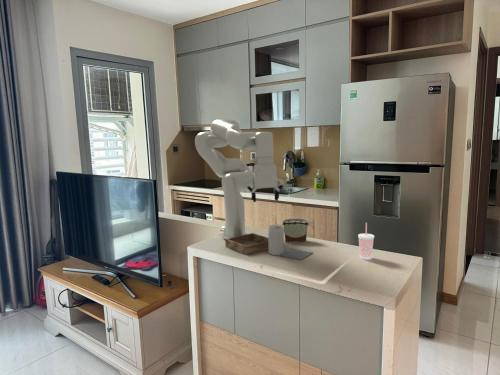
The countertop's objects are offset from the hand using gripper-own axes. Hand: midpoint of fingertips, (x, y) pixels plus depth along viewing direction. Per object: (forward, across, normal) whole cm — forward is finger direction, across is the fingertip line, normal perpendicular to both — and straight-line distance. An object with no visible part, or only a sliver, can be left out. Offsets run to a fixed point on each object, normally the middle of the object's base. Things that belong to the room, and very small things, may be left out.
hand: (265, 201), depth 153 cm
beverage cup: (+22, +36, -21) cm, 47 cm away
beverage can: (+22, +2, -8) cm, 23 cm away
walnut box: (+21, -7, +4) cm, 22 cm away
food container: (+21, +16, +8) cm, 28 cm away
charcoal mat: (+21, +10, -11) cm, 26 cm away
